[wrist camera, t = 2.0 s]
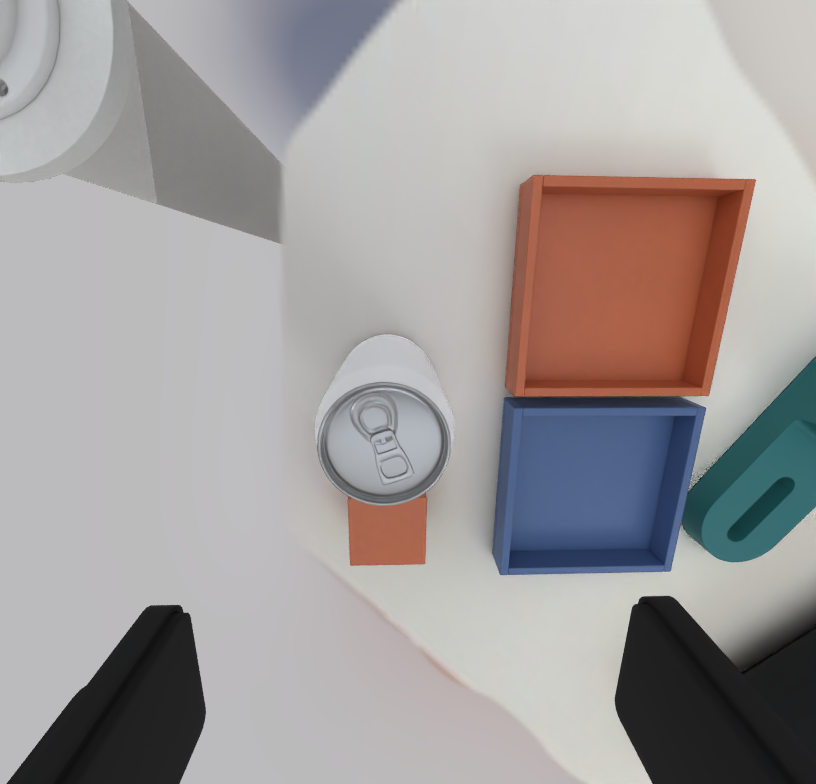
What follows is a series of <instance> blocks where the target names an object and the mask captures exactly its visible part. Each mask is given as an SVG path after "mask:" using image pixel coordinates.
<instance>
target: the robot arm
mask: <svg viewBox="0 0 816 784" xmlns="http://www.w3.org/2000/svg"><path fill="white" fill-rule="evenodd" d="M59 26H60V17H59V10H58V3H57V0H0V119H3V118H5V117H7V116H10V115H12V114H14V113H16V112H18V111H20V110H21V109H23V108H24V107H25V106H26V105H27V104H29V103H30V102H31V101H32V100H34V99H35V97H36V96H37V95H38V93H39V92H40V91H41V89H42V88H43V87H44V85H45V84H46V82H47V80H48V78H49V76H50V73H51V71H52V69H53V66H54V64H55V60H56V55H57V50H58V45H59ZM615 706H616V711H617V714H618V717H619V719H620V721H621V723H622V725H623V727H624V729H625V731H626V733H627V735H628V737H629V739H630V741H631V742H632V744H633V746H634V748H635V750H636V752H637V754H638V756H639V758H640V760H641V762H642V764H643V766H644V768H645V770H646V772H647V773H648V775H649V777H650V779H651V781H652V783H653V784H816V757H815V756H814V754H813V753H812V752H811V751H810V750H809V749H808V748H807V746H806V745H805V744H804V743H803V742H802V741H801V740H800V739H799V737H798V736H797V735H796V734H795V733H794V732H793V731H792V730H791V728H790V727H789V726H788V725H787V724H786V723H785V722H784V721H783V719H782V718H781V717H780V716H779V715H778V714H777V713H776V712H775V710H774V709H773V708H772V707H771V706H770V705H769V704H768V703H767V701H766V700H765V699H764V698H763V697H762V696H761V695H760V694H759V692H758V691H757V690H756V689H755V688H754V687H753V686H752V685H751V683H750V682H749V681H748V680H747V679H746V678H745V677H744V676H743V674H742V673H741V672H740V671H739V670H738V669H737V668H736V666H735V665H734V664H733V663H732V662H731V661H730V660H729V659H728V657H727V656H726V655H725V654H724V653H723V652H722V651H721V650H720V648H719V647H718V646H717V645H716V644H715V643H714V642H713V641H712V639H711V638H710V637H709V636H708V635H707V634H706V633H705V632H704V630H703V629H702V628H701V627H700V626H699V625H698V624H697V623H696V621H695V620H694V619H693V618H692V617H691V616H690V615H689V614H688V612H687V611H686V610H685V609H684V608H683V607H682V606H681V605H680V603H679V602H678V601H677V600H676V599H674V598H673V597H671V596H645V597H641V598H640V599H639V602H638V604H635V605H634V606H633V607H632V611H631V616H630V621H629V627H628V632H627V637H626V642H625V648H624V653H623V658H622V663H621V669H620V674H619V679H618V684H617V689H616V695H615ZM205 714H206V708H205V702H204V696H203V691H202V683H201V677H200V671H199V665H198V659H197V653H196V647H195V641H194V635H193V629H192V623H191V617H190V614H189V613H183V609H182V607H181V606H180V605H158V606H157V605H156V606H149V607H147V608H146V609H145V610H144V611H143V612H142V613H141V615H140V616H139V617H138V619H137V620H136V621H135V623H134V624H133V625H132V627H131V628H130V629H129V630H128V632H127V633H126V635H125V636H124V637H123V638H122V640H121V641H120V643H119V644H118V645H117V646H116V648H115V649H114V650H113V652H112V653H111V654H110V655H109V657H108V658H107V660H106V661H105V662H104V663H103V665H102V666H101V667H100V669H99V670H98V671H97V673H96V674H95V675H94V677H93V678H92V679H91V680H90V682H89V683H88V684H87V686H85V687H84V688H82V689H81V690H80V691H79V692H78V693H77V694H76V695H75V696H74V697H73V698H72V700H71V701H70V702H69V703H68V705H67V706H66V707H65V709H64V710H63V711H62V713H61V714H60V715H59V716H58V718H57V719H56V721H55V722H54V723H53V724H52V726H51V727H50V728H49V730H48V731H47V732H46V733H45V735H44V736H43V737H42V739H41V740H40V741H39V742H38V744H37V745H36V746H35V748H34V749H33V750H32V752H31V753H30V754H29V755H28V757H27V758H26V760H25V761H24V762H23V763H22V764H21V766H20V767H19V768H18V770H17V771H16V772H15V774H14V775H13V776H12V777H11V779H10V780H9V781H8V783H7V784H179V783H180V781H181V779H182V776H183V774H184V771H185V769H186V767H187V765H188V762H189V760H190V758H191V755H192V753H193V750H194V748H195V746H196V743H197V741H198V739H199V737H200V734H201V731H202V729H203V725H204V721H205Z"/></svg>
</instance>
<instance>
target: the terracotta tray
mask: <svg viewBox="0 0 816 784" xmlns="http://www.w3.org/2000/svg"><path fill="white" fill-rule="evenodd" d="M755 182H756V180H755V179H746V180H745V179H710V178H658V177H607V176H555V175H544V176H543V175H533V176H532V177H531V178H529V179H528V180H527V181H525V182H524V183H522V184H521V185H520V196H519V209H518V222H517V236H516V249H515V262H514V275H513V288H512V301H511V315H510V328H509V341H508V354H507V367H506V380H505V387H506V388H507V389H508V390H509V391H510V392H511V393H512V394H513V395H514V396H516V397H523V396H524V397H541V396H709V392H710V388H711V383H712V379H713V374H714V370H715V365H716V360H717V356H718V351H719V347H720V342H721V338H722V333H723V328H724V324H725V319H726V315H727V310H728V305H729V301H730V296H731V292H732V287H733V283H734V278H735V273H736V269H737V264H738V260H739V255H740V251H741V246H742V241H743V237H744V232H745V228H746V223H747V218H748V214H749V209H750V205H751V200H752V196H753V191H754V186H755Z"/></svg>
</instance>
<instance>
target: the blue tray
mask: <svg viewBox="0 0 816 784" xmlns="http://www.w3.org/2000/svg"><path fill="white" fill-rule="evenodd" d="M705 411H706V408H705V407H703V406H700V405H698V404H696V403H693V402H691V401H688V400H686V399H683V398H681V397H675V398H504V407H503V420H502V433H501V446H500V459H499V473H498V486H497V499H496V512H495V525H494V538H493V552H492V554H493V557H494V559H495V562H496V565H497V568H498V570H499V573H500V575H524V574H573V573H622V572H663V571H664V572H669V571H671V566H672V562H673V557H674V553H675V548H676V544H677V539H678V534H679V530H680V525H681V521H682V516H683V512H684V507H685V502H686V498H687V493H688V489H689V484H690V479H691V475H692V470H693V466H694V461H695V457H696V452H697V447H698V443H699V438H700V434H701V429H702V425H703V420H704V415H705Z"/></svg>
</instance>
